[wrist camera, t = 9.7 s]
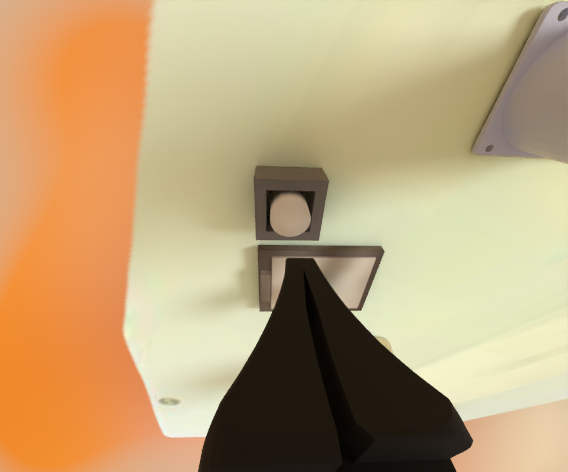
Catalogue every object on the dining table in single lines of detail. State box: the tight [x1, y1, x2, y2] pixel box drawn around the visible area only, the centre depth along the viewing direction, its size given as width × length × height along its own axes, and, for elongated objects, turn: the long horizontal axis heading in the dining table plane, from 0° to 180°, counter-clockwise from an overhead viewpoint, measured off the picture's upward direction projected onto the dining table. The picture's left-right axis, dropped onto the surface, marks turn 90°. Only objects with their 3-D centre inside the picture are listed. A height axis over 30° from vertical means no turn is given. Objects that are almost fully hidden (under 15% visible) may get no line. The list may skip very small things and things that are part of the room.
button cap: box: [270, 190, 311, 237], centre depth 16 cm, size 3×3×3 cm
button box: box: [254, 166, 329, 241], centre depth 17 cm, size 5×5×3 cm
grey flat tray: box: [258, 245, 384, 311], centre depth 23 cm, size 12×9×1 cm
